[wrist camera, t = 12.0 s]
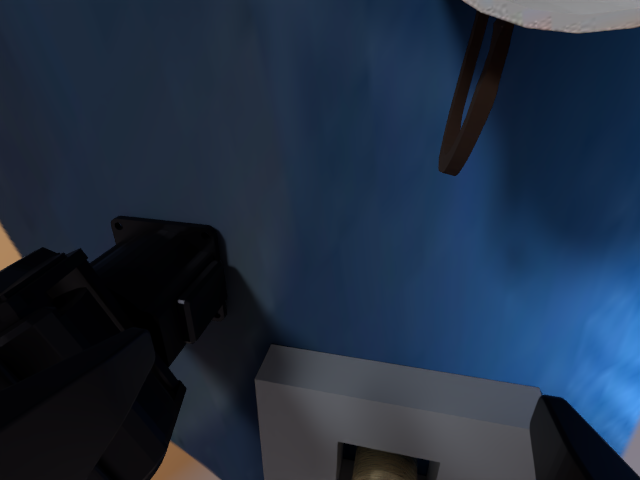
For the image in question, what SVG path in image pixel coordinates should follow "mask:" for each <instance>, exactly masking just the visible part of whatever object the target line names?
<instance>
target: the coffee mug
mask: <svg viewBox="0 0 640 480" xmlns="http://www.w3.org/2000/svg"><path fill="white" fill-rule="evenodd" d="M462 1H464V2H465V3H467V4H468V5H470V6H471V7H473V8H475V9H476V10H477V12H476V17H475V21H474V24H473V28H472V32H471V35H470V39H469V42H468V46H467V49H466V53H465V57H464V60H463V64H462V67H461V71H460V75H459V78H458V82H457V86H456V89H455V93H454V97H453V100H452V104H451V108H450V111H449V115H448V120H447V124H446V128H445V132H444V136H443V141H442V146H441V150H440V155H439V171H440V172H442V173H445V174H449V175H453V176H456V175H457V174H458V173H459V172H460V171H461V169H462V167H463V166H464V164H465V163H466V161H467V159H468V157H469V156H470V154H471V152H472V150H473V148H474V146H475V143H476V141H477V139H478V137H479V135H480V133H481V131H482V128H483V126H484V124H485V122H486V120H487V118H488V115H489V113H490V111H491V108H492V106H493V103H494V100H495V97H496V94H497V90H498V85H499V81H500V78H501V74H502V70H503V67H504V64H505V60H506V57H507V53H508V50H509V46H510V40H511V35H512V31H513V28H514V24H516V25H519V26H522V27H525V28H530V29H540V30H549V31H559V32H568V33H577V34H578V33H588V32H598V31H609V30H619V29H630V28H636V27H640V0H462ZM489 15H490V16H493V17H496V21H495V22H494V25H493V34H492V40H491V45H490V50H489V53H488V56H487V59H486V61H485V65H484V68H483V71H482V74H481V76H480V79H479V81H478V84H477V86H476V89H475V92H474V95H473V98H472V101H471V104H470V107H469V110H468V113H467V116H466V119H465V121H464V123H463V125H462V128H461V120H462V114H463V110H464V106H465V102H466V98H467V95H468V91H469V87H470V84H471V80H472V76H473V73H474V69H475V65H476V62H477V58H478V54H479V51H480V47H481V44H482V40H483V36H484V33H485V29H486V25H487V22H488V18H489ZM460 128H461V130H460Z"/></svg>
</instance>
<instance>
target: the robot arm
mask: <svg viewBox="0 0 640 480" xmlns="http://www.w3.org/2000/svg"><path fill="white" fill-rule="evenodd" d="M119 223H120V224H121V225H122V226H121V225H120V224H119ZM111 227H112V231H113V235H114V238H115V242H116V245H115V246H114V247H112V248H111V249H109V250H108V251H107V252H105V253H104V254H102V255H101V256H99V257H98V258H97V259H95V260H94V261H92V262H91V263H89V262H88V261H87V260H86V259H88V257H87V256H86V254H85V253H84V252H83V250H82V249H81V248H80V249H77V250H75V251H73V252H71V253H68V254H66V255H65V253H61V254H60V253H55V252H53V251H51V250H48V249H46V248H44V247H42V248H40V249H38V250H36V251H34V252H32V253H31V254H29V255H27V256H25V257H23V258H22V259H20V260H18V261H16V262H15V263H13V264H11V265H9V266H8V267H6V268H4V269H3V270H1V271H0V480H150V479H151V478H152V477H153V475H154V474H155V473H156V471H157V470H158V468H159V466H160V465H161V463H162V461H163V459H164V456H165V454H166V452H167V448H168V445H169V442H170V439H171V436H172V433H173V429H174V426H175V423H176V420H177V417H178V414H179V411H180V408H181V405H182V402H183V398H184V395H185V392H186V387H185V386H184V384H183V383H182V382H181V381H180V380H177V379H176V377H175V376H174V375H173V373H172V372H171V371H170V369H169V366H170V365H171V364H172V362H173V361H174V360H175V358H176V357H177V356H178V354H179V353H180V352H181V350H182V349H183V348H184V346H185V345H186V344H187V343H190V344H193V343H194V342H195V341H197V340H198V338H199V337H200V335H201V334H202V333H203V331H204V330H205V329H206V327H207V326H208V324H209V323H210V322H211V320H212V321H222V320H223V319H224V317H225V316H226V315H227V310H226V302H225V301H226V300H227V292H226V284H225V276H224V268H223V264H222V262H221V261H220V255H219V247H218V239H217V233H216V230H215V229H214V228H213V227H211V226H209V225H202V224H193V223H184V222H174V221H165V220H156V219H146V218H137V217H127V216H118V217H116V218H114V219H113V220H112V221H111ZM204 232H206V233H208V234H209V236H210V237H207V236H206V235H205V233H204ZM217 312H218V313H219V314H218V313H217ZM529 429H530V439H531V446H532V454H533V461H534V468H535V476H536V480H640V477H639V476H638V475H637V474H636V473H635V472H634V471H633V470H632V469H631V468H630V466H629V465H628V464H627V463H626V462H625V461H624V460H623V459H622V458H621V457H620V456H619V455H618V454H617V453H616V452H615V451H614V450H613V449H612V448H611V447H610V446H609V445H608V444H607V442H606V441H605V440H604V439H603V438H602V437H601V436H600V435H599V434H598V433H597V432H596V431H595V430H594V429H593V428H592V427H591V426H590V425H589V424H588V423H587V422H586V421H585V420H584V419H583V418H582V417H581V415H580V414H579V413H578V412H577V411H576V410H575V409H574V408H573V407H572V406H571V405H570V404H569V403H568V402H567V401H566V400H565V399H563V398H561V397H555V396H549V395H541V396H540V397H539V399H538V401H537V404H536V407H535V409H534V412H533V415H532V417H531V420H530V427H529Z"/></svg>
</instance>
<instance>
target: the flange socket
mask: <svg viewBox="0 0 640 480" xmlns="http://www.w3.org/2000/svg"><path fill="white" fill-rule="evenodd" d="M255 388H256V399H257V409H258V419H259V430H260V440H261V450H262V461H263V471H264V480H352V474H353V468H354V461H352V460H347V459H343V444H344V443H347V444H352V445H357V446H362V447H367V448H371V449H376V450H381V451H386V452H391V453H396V454H401V455H406V456H410V457H415V458H420V459H425V460H430V461H429V466H428V470H427V475H426V476H423V475H418V474H417V480H535V479H536V476H535V468H534V461H533V454H532V446H531V439H530V429H529V427H530V420H531V417H532V415H533V412H534V409H535V407H536V404H537V401H538V399H539V397H540V396H541V392H540V389H539V388H537V387H531V386H524V385H518V384H512V383H506V382H500V381H494V380H488V379H482V378H475V377H469V376H463V375H457V374H451V373H445V372H439V371H432V370H426V369H420V368H414V367H408V366H402V365H396V364H390V363H383V362H377V361H371V360H365V359H359V358H353V357H347V356H340V355H334V354H328V353H322V352H316V351H310V350H304V349H298V348H291V347H285V346H279V345H273V344H271V346H270V348H269V350H268V352H267V354H266V356H265V359H264V361H263V363H262V365H261V367H260V369H259V371H258V373H257V375H256V377H255Z"/></svg>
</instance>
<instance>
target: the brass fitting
mask: <svg viewBox="0 0 640 480" xmlns="http://www.w3.org/2000/svg"><path fill="white" fill-rule="evenodd" d="M352 480H417V458H415V457H410V456H406V455H401V454H396V453H391V452H386V451H381V450H376V449H371V448H367V447H362V446H357V448H356V455H355V461H354V468H353V474H352Z"/></svg>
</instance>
